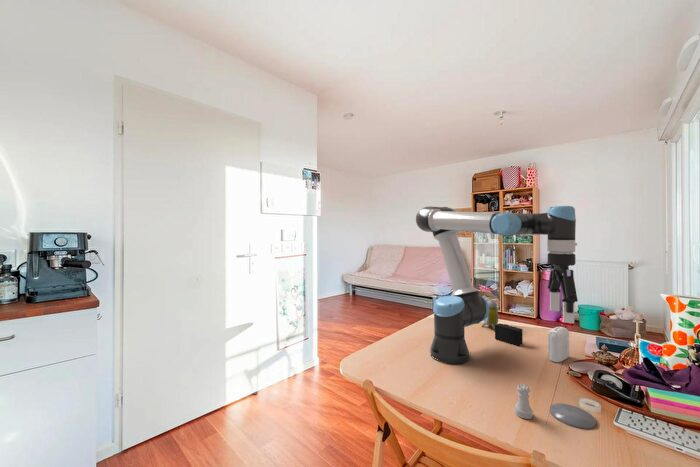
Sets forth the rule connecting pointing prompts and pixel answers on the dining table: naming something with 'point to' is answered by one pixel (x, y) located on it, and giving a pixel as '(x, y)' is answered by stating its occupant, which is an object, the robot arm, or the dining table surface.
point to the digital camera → (508, 334)
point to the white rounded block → (558, 344)
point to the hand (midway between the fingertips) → (561, 316)
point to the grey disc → (572, 416)
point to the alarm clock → (491, 313)
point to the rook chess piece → (523, 403)
